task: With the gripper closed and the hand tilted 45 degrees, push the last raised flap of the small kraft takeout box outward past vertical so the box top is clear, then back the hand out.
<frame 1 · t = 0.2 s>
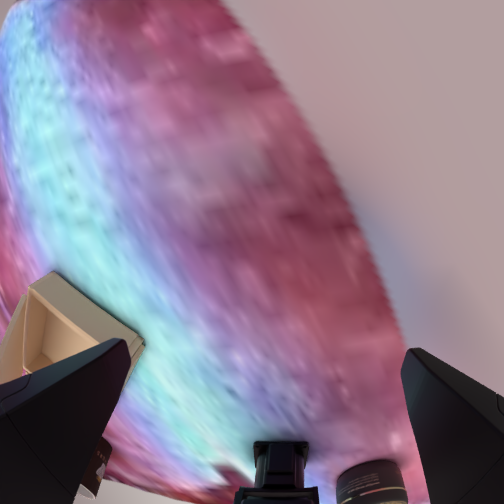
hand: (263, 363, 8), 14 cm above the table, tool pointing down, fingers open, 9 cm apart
jar: (367, 473, 32), on the table
kraft box: (81, 347, 28), on the table
flap: (10, 370, 19), point 9 cm above the table, hinge at -25.0°
coffee mug: (93, 442, 35), on the table
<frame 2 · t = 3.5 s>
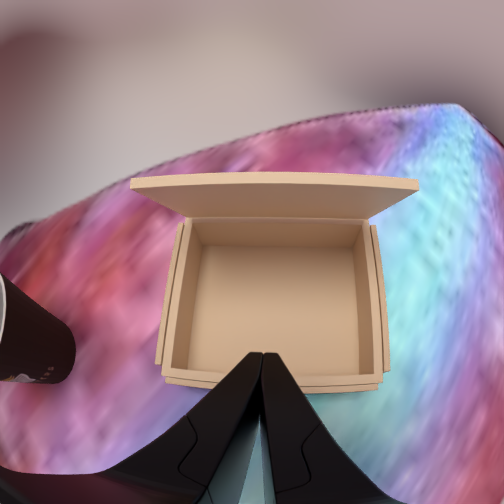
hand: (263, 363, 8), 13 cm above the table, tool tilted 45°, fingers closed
kraft box: (275, 310, 23), on the table
flap: (275, 199, 17), point 9 cm above the table, hinge at -25.0°
coffee mug: (43, 348, 22), on the table
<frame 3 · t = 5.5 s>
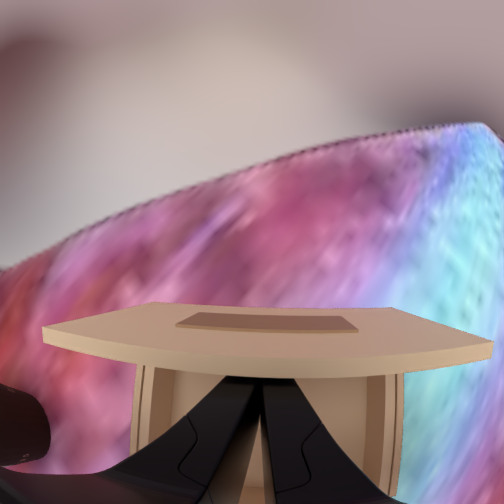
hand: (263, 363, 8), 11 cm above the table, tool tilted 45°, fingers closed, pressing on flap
kraft box: (268, 413, 17), on the table
flap: (268, 328, 11), point 9 cm above the table, hinge at -23.9°, touching gripper
coffee mug: (18, 420, 17), on the table
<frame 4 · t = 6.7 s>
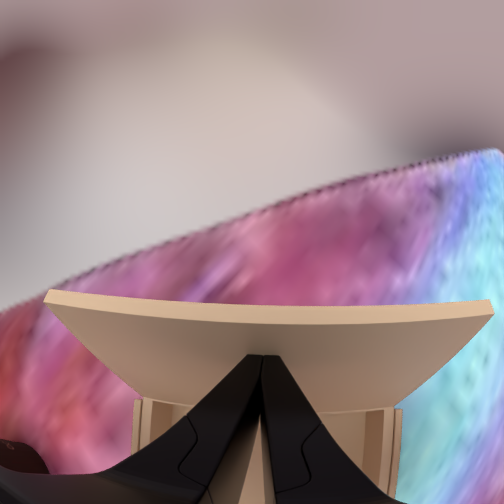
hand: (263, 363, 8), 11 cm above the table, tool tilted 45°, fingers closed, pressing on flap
kraft box: (264, 482, 15), on the table
flap: (265, 377, 10), point 9 cm above the table, hinge at 16.5°, touching gripper
coffee mug: (20, 466, 15), on the table
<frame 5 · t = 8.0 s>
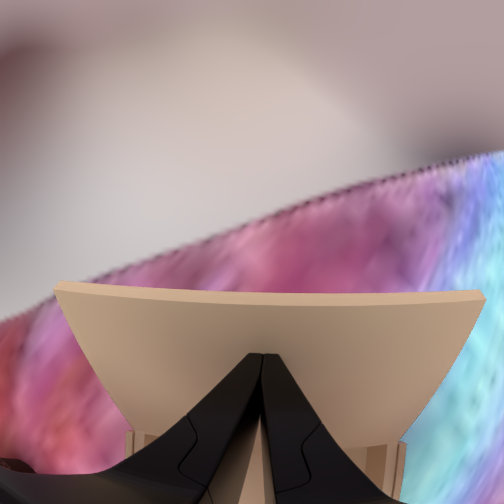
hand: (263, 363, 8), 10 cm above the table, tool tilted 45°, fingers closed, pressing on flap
flap: (264, 395, 10), point 8 cm above the table, hinge at 34.9°, touching gripper
coffee mug: (18, 482, 13), on the table
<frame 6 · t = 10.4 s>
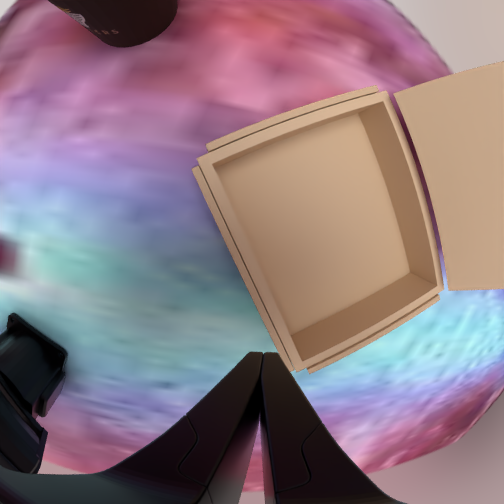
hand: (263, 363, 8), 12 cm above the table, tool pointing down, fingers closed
kraft box: (325, 224, 20), on the table
flap: (496, 186, 12), point 8 cm above the table, hinge at 35.0°
coffee mug: (132, 4, 15), on the table
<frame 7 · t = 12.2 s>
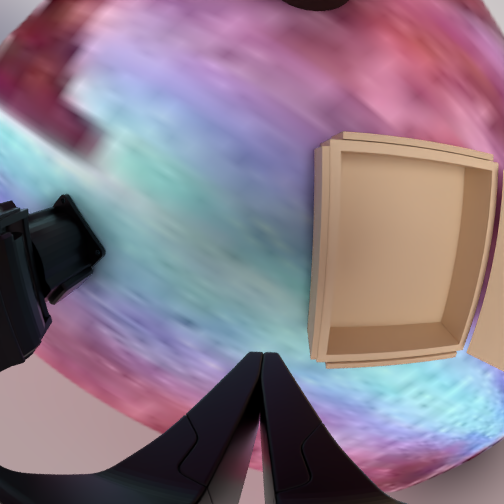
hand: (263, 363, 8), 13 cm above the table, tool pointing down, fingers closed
kraft box: (397, 246, 20), on the table
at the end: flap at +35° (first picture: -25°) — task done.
